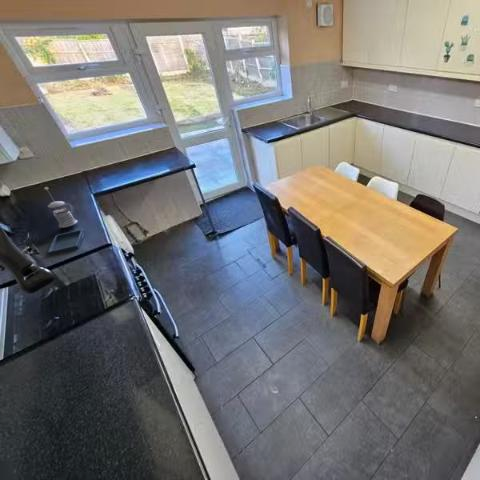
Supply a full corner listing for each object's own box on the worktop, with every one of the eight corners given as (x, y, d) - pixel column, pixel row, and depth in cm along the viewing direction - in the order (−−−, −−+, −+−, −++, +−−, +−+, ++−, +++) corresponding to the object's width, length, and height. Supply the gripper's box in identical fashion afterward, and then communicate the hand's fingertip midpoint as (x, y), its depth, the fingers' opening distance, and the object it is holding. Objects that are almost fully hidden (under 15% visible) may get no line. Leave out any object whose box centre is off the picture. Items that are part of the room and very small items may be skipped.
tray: (79, 248, 155) (76, 245, 153) (50, 256, 150) (47, 252, 149) (84, 232, 167) (82, 229, 166) (58, 238, 163) (55, 235, 161)
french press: (54, 226, 172) (30, 189, 158) (73, 217, 181) (52, 182, 167) (65, 228, 169) (41, 191, 155) (84, 219, 178) (63, 184, 164)
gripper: (38, 249, 119) (26, 237, 127) (-5, 268, 110) (-15, 254, 118) (49, 261, 124) (37, 249, 131) (9, 281, 115) (-2, 266, 122)
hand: (12, 251), depth 124 cm, fingers open, 8 cm apart
